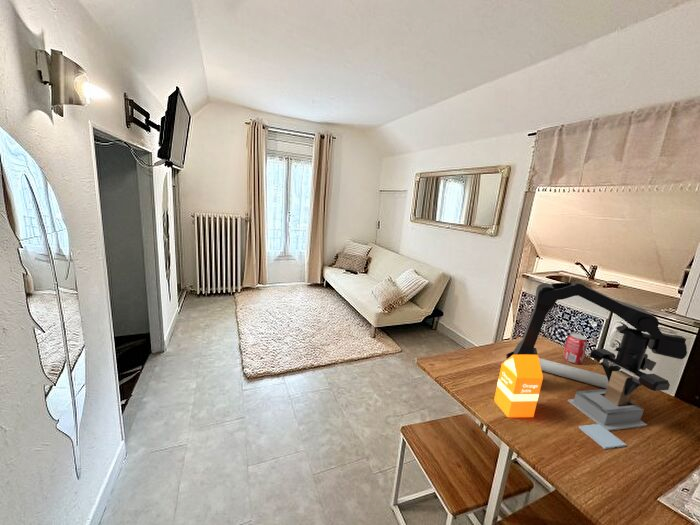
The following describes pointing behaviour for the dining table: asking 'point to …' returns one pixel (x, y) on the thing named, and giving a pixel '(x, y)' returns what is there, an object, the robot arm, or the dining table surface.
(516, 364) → the orange juice
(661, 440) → the dining table surface
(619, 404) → the light wood cuboid
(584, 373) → the tube
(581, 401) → the grey hollow block
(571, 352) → the soda can
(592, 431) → the mat
